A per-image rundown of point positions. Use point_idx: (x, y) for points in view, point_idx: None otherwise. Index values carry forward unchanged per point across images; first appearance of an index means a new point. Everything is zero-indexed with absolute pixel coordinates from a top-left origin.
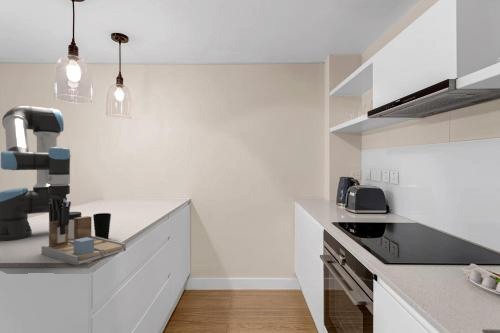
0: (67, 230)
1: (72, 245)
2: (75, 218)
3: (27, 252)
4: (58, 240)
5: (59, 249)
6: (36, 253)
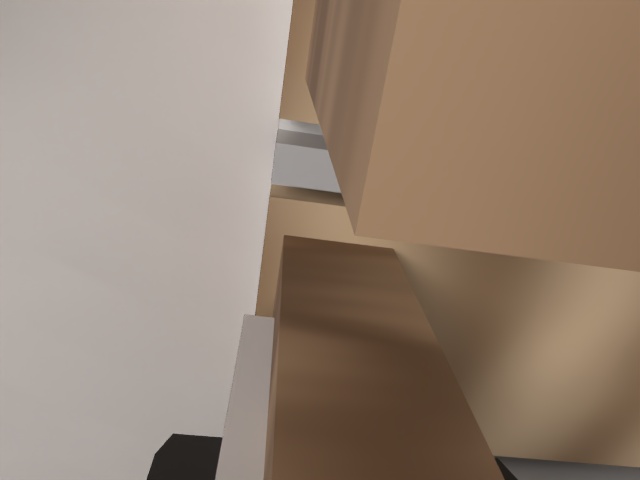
0: (455, 406)
1: (514, 270)
2: (560, 257)
3: (62, 442)
4: None
5: (502, 432)
6: (181, 425)
